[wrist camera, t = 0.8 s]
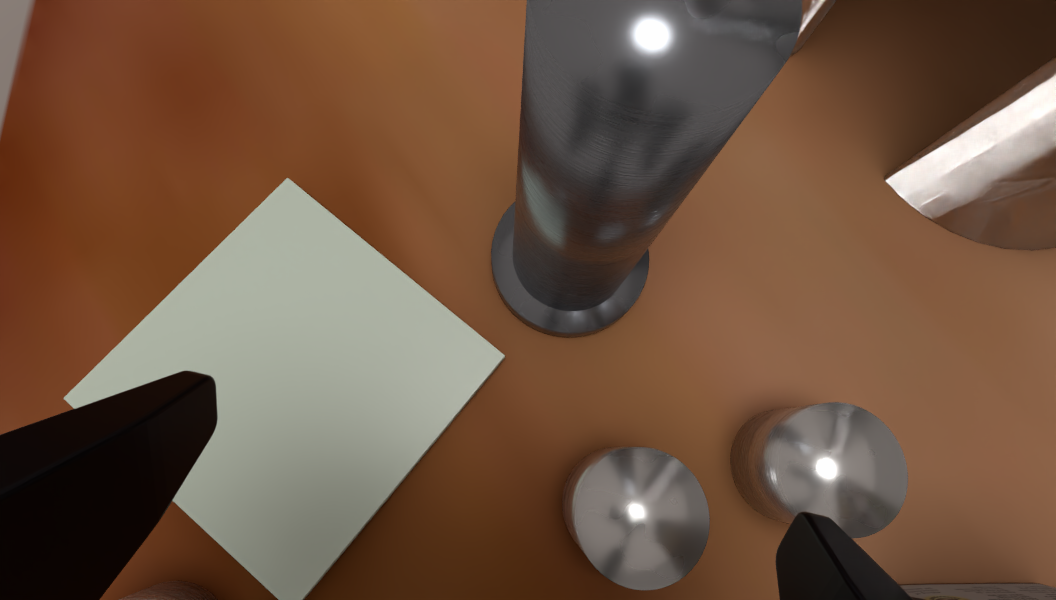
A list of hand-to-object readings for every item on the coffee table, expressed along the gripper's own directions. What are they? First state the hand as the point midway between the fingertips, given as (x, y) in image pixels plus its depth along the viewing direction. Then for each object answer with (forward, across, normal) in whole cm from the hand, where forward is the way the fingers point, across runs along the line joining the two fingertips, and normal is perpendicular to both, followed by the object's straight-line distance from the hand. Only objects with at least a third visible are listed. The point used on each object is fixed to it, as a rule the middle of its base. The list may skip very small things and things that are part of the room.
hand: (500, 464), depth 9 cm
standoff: (+15, -1, +3) cm, 15 cm away
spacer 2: (+11, -10, +7) cm, 17 cm away
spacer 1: (+9, -4, +9) cm, 14 cm away
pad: (+10, +8, +8) cm, 15 cm away
